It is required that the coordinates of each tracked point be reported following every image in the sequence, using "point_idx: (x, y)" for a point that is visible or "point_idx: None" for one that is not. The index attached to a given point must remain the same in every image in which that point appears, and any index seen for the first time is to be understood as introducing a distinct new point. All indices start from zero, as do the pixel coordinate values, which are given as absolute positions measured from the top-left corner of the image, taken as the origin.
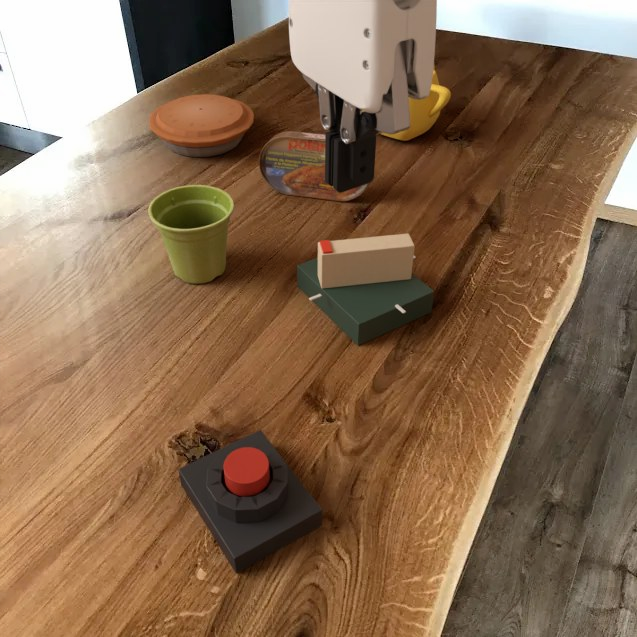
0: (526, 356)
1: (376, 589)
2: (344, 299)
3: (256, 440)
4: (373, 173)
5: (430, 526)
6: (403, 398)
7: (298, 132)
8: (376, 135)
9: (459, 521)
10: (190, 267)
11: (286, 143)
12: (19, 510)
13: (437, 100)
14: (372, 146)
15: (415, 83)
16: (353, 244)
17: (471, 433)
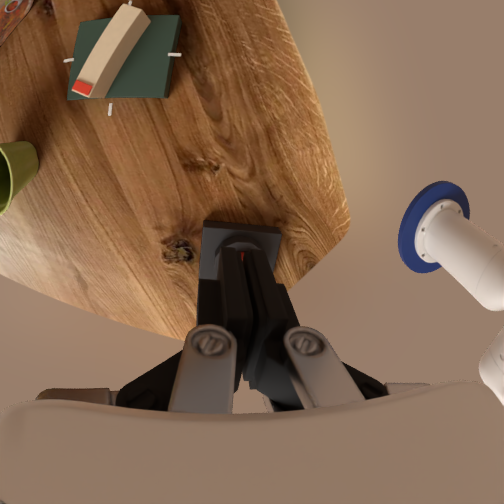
0: (277, 8)
1: (325, 229)
2: (129, 88)
3: (210, 234)
4: (265, 255)
5: (324, 180)
6: (239, 109)
7: None
8: (284, 308)
9: (335, 164)
10: (27, 181)
11: None
12: (165, 331)
13: None
14: (298, 324)
15: (454, 398)
16: (96, 60)
17: (299, 100)
